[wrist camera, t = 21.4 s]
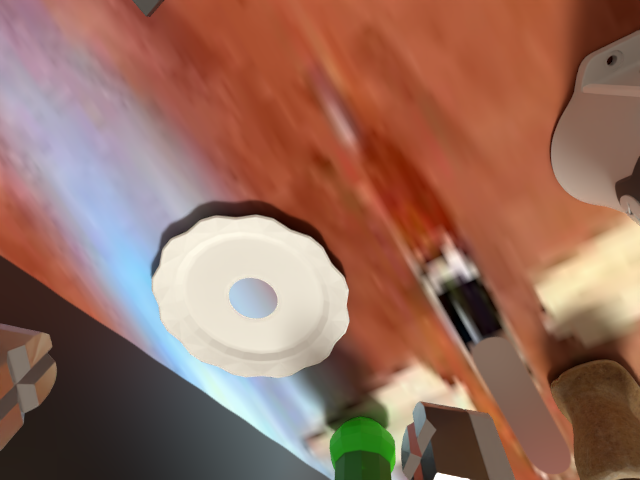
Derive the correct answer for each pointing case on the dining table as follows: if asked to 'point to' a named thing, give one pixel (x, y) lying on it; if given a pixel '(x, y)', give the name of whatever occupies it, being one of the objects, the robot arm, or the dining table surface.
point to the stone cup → (602, 419)
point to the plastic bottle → (362, 451)
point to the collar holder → (148, 6)
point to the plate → (251, 262)
